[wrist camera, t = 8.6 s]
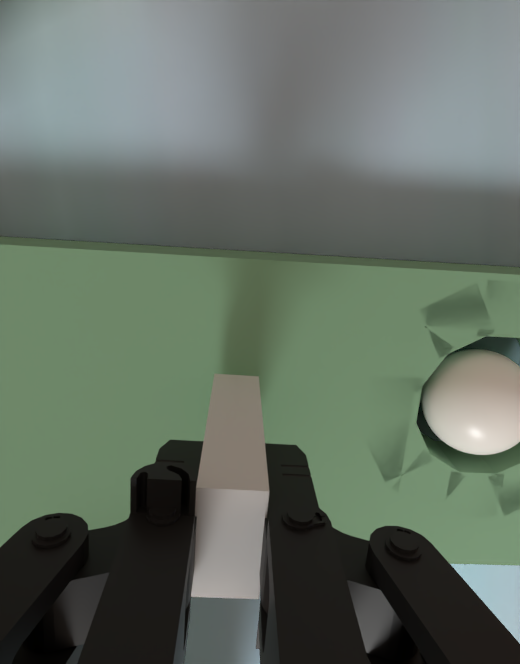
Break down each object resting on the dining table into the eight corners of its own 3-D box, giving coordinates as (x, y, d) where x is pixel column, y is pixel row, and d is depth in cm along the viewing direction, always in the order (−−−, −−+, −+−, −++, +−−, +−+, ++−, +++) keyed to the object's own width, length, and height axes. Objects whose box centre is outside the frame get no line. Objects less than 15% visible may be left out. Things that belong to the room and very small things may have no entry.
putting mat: (560, 527, 22) (598, 567, 20) (-55, 508, 21) (-93, 549, 18) (629, 273, 19) (685, 284, 17) (-92, 230, 18) (-144, 235, 15)
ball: (481, 421, 21) (545, 476, 17) (396, 421, 20) (444, 477, 17) (503, 336, 20) (577, 375, 16) (413, 332, 19) (469, 372, 15)
